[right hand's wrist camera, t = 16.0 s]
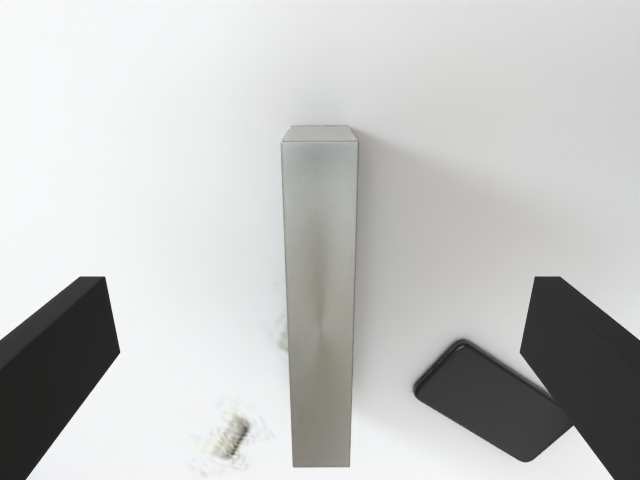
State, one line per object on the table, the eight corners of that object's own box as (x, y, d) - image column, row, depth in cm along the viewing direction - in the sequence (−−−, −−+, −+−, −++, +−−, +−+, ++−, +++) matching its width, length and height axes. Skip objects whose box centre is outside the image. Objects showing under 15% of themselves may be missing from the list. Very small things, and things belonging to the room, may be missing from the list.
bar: (291, 125, 33) (280, 141, 24) (348, 125, 33) (359, 140, 24) (298, 386, 41) (292, 467, 33) (343, 385, 41) (349, 467, 33)
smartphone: (407, 390, 41) (523, 459, 45) (409, 396, 41) (527, 467, 44) (460, 334, 39) (578, 412, 42) (463, 340, 38) (583, 419, 42)
